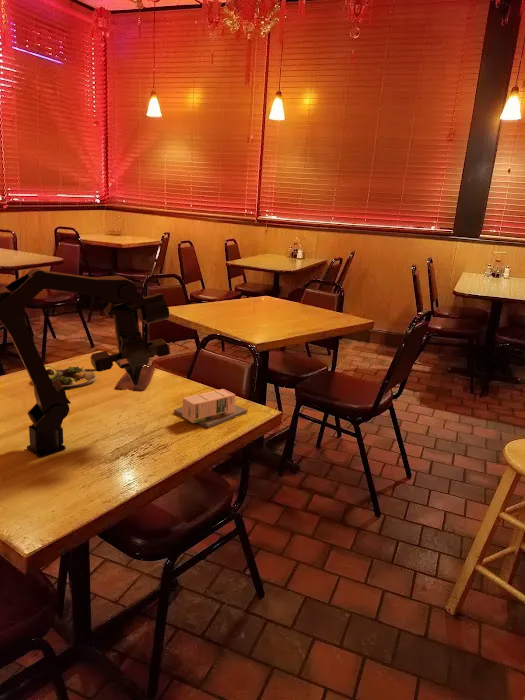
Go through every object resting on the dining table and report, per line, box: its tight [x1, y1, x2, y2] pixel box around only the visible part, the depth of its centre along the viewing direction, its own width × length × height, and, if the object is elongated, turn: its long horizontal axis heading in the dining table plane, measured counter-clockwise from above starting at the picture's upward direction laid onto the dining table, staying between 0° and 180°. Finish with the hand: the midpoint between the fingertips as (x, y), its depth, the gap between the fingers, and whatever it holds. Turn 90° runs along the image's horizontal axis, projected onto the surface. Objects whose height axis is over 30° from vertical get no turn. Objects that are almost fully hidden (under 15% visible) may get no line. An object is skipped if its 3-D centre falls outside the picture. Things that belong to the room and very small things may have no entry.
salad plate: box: [44, 365, 98, 390], centre depth 167 cm, size 19×18×5 cm
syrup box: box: [181, 388, 236, 424], centre depth 144 cm, size 6×6×14 cm
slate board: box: [173, 404, 248, 429], centre depth 148 cm, size 16×14×1 cm
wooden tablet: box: [115, 364, 156, 392], centre depth 174 cm, size 26×2×10 cm
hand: (135, 384), depth 131 cm, fingers closed
